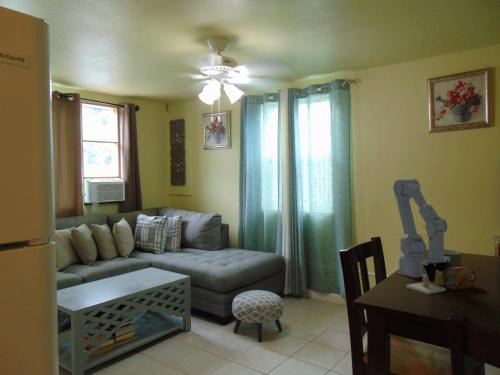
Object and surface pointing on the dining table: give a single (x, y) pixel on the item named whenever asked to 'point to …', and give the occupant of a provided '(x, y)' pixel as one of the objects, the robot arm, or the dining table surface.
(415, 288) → the base plate
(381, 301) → the dining table surface
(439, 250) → the robot arm
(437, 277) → the yellow-orange cube block
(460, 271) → the tin
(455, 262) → the can
